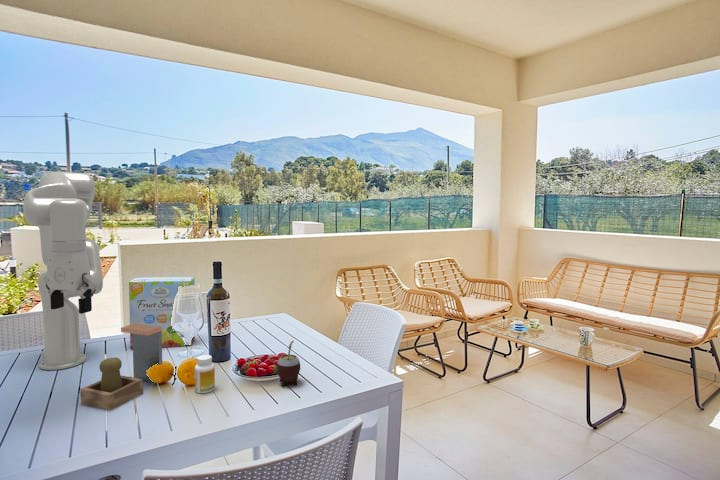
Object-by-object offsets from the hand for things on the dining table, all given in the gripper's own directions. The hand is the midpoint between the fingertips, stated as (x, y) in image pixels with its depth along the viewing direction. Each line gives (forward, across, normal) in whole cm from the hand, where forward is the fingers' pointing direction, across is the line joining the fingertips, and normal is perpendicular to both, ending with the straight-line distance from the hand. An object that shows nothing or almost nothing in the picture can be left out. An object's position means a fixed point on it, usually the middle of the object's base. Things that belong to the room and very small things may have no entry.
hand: (71, 310), depth 108 cm
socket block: (+25, +10, +3) cm, 27 cm away
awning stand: (+25, +10, +13) cm, 30 cm away
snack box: (+26, -9, +43) cm, 51 cm away
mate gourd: (+24, +52, +27) cm, 63 cm away
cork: (+25, +9, +4) cm, 27 cm away
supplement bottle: (+25, +30, +16) cm, 42 cm away
